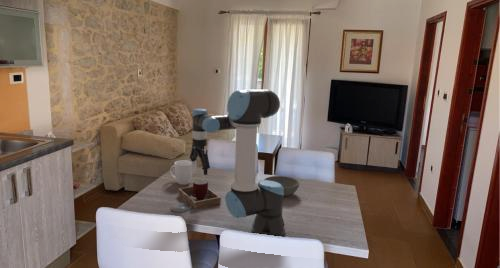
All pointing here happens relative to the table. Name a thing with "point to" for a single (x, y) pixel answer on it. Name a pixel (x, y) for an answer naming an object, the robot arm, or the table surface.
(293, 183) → the bowl
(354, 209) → the table surface
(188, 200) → the caddy
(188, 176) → the mug
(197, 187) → the mug
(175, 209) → the coaster
